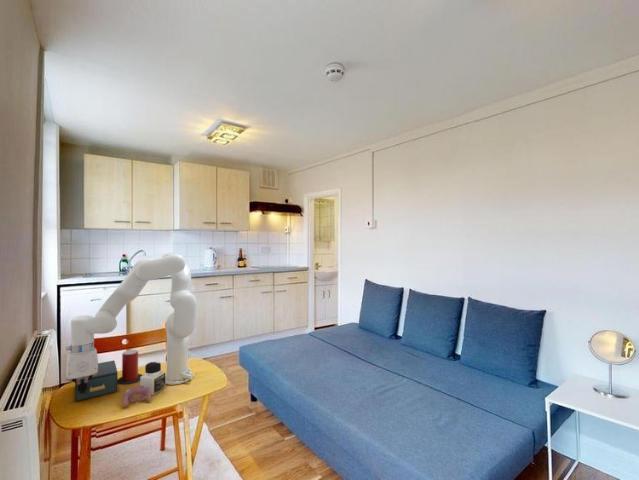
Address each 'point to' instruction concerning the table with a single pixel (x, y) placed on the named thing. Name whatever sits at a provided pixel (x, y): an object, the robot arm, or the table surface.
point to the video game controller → (133, 391)
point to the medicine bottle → (153, 377)
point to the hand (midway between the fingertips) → (82, 392)
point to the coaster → (129, 381)
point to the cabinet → (102, 375)
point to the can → (129, 365)
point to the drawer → (98, 386)
